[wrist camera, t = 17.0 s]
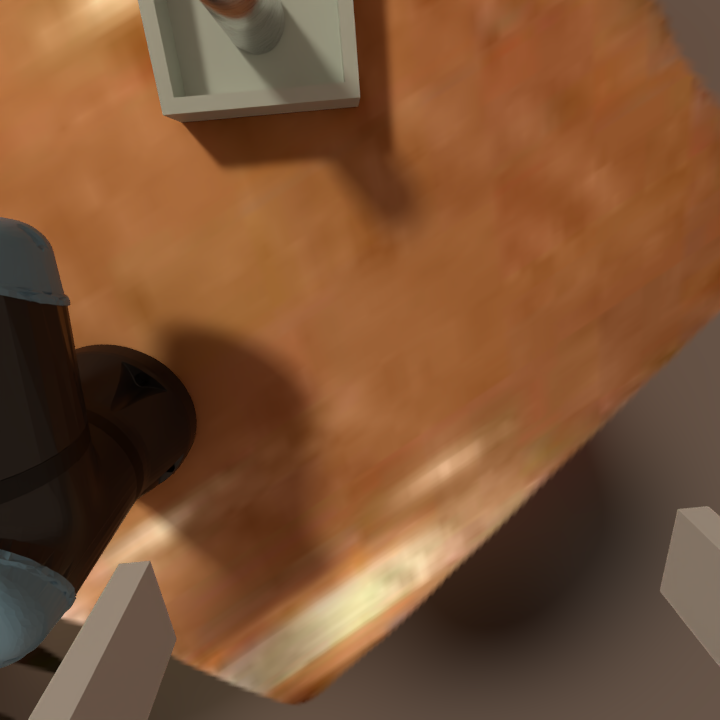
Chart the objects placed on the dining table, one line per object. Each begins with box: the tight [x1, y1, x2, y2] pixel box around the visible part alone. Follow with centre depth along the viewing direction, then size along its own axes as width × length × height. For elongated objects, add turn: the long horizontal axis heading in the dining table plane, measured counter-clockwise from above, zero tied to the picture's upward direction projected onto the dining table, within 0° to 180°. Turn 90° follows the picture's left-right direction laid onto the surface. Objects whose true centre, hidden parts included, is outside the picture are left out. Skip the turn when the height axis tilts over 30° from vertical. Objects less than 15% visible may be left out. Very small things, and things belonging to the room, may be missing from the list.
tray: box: [138, 0, 360, 122], centre depth 31 cm, size 14×12×4 cm
